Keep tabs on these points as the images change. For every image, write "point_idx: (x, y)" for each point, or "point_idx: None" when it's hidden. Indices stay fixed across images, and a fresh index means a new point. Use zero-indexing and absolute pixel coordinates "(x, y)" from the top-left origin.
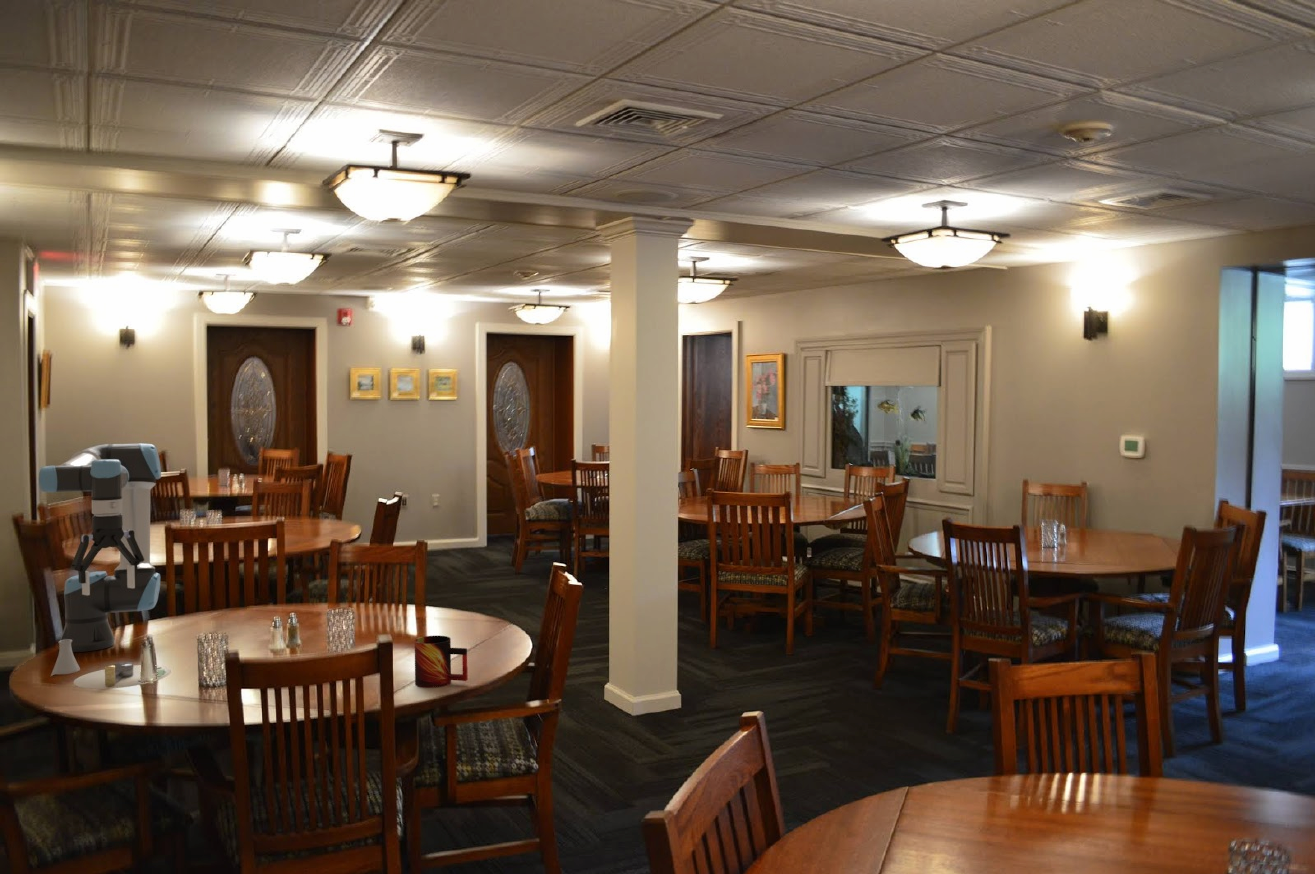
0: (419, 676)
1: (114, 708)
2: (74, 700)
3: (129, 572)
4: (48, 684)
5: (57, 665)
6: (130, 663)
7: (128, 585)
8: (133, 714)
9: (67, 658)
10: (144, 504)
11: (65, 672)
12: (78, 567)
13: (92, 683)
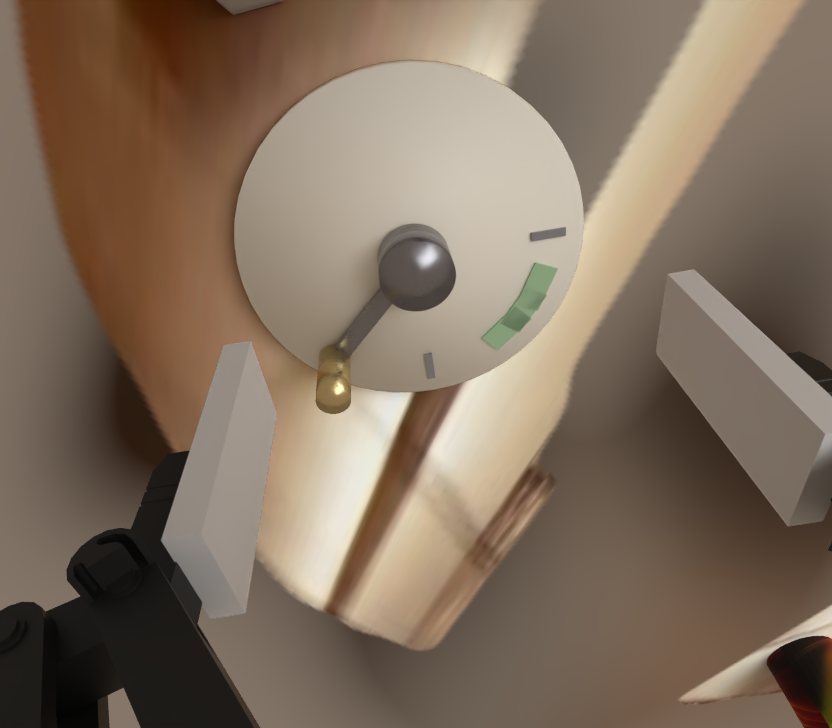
0: (779, 678)
1: (297, 502)
2: None
3: (747, 415)
4: (146, 75)
5: None
6: (446, 278)
7: (675, 302)
8: (321, 557)
9: None
10: None
11: (223, 2)
12: (89, 706)
13: (294, 278)
